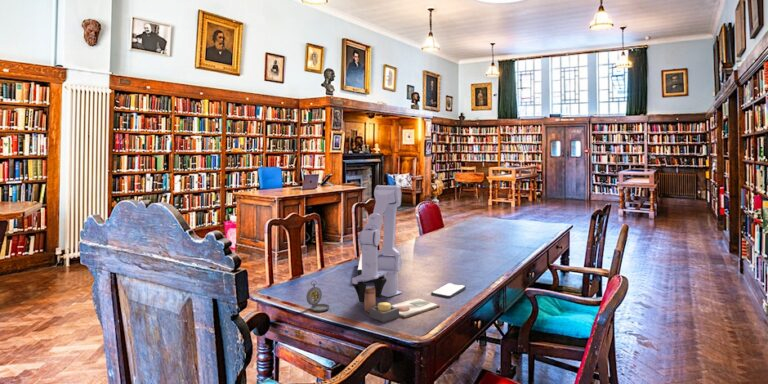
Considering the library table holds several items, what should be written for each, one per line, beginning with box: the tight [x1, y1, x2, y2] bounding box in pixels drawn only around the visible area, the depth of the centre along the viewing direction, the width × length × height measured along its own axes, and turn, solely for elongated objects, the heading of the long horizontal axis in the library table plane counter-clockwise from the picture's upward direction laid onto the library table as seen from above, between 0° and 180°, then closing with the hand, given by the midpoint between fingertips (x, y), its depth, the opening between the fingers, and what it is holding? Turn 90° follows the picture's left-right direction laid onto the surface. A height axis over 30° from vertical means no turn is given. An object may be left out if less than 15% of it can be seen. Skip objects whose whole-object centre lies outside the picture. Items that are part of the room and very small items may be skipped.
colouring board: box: [391, 297, 440, 319], centre depth 164 cm, size 12×18×1 cm, turn 131°
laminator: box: [356, 252, 374, 283], centre depth 215 cm, size 34×12×6 cm, turn 1°
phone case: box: [430, 282, 467, 299], centre depth 184 cm, size 9×2×16 cm
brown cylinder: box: [364, 286, 377, 313], centre depth 162 cm, size 4×4×8 cm
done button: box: [377, 301, 391, 312], centre depth 155 cm, size 4×4×3 cm
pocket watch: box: [305, 280, 330, 312], centre depth 164 cm, size 8×8×10 cm
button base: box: [369, 305, 400, 323], centre depth 155 cm, size 7×7×3 cm
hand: (369, 299), depth 162 cm, fingers open, 7 cm apart
